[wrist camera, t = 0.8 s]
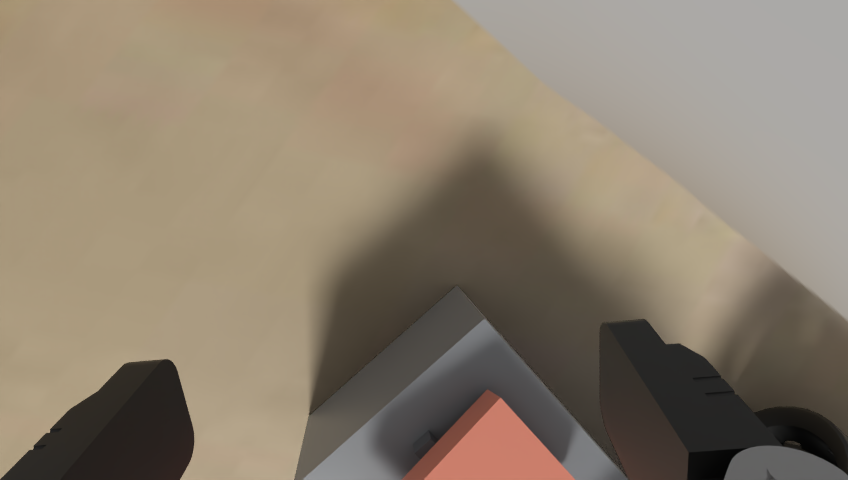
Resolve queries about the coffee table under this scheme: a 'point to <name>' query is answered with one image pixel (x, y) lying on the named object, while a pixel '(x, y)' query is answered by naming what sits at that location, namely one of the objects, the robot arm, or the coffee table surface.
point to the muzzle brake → (807, 433)
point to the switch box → (437, 402)
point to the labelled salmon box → (488, 448)
